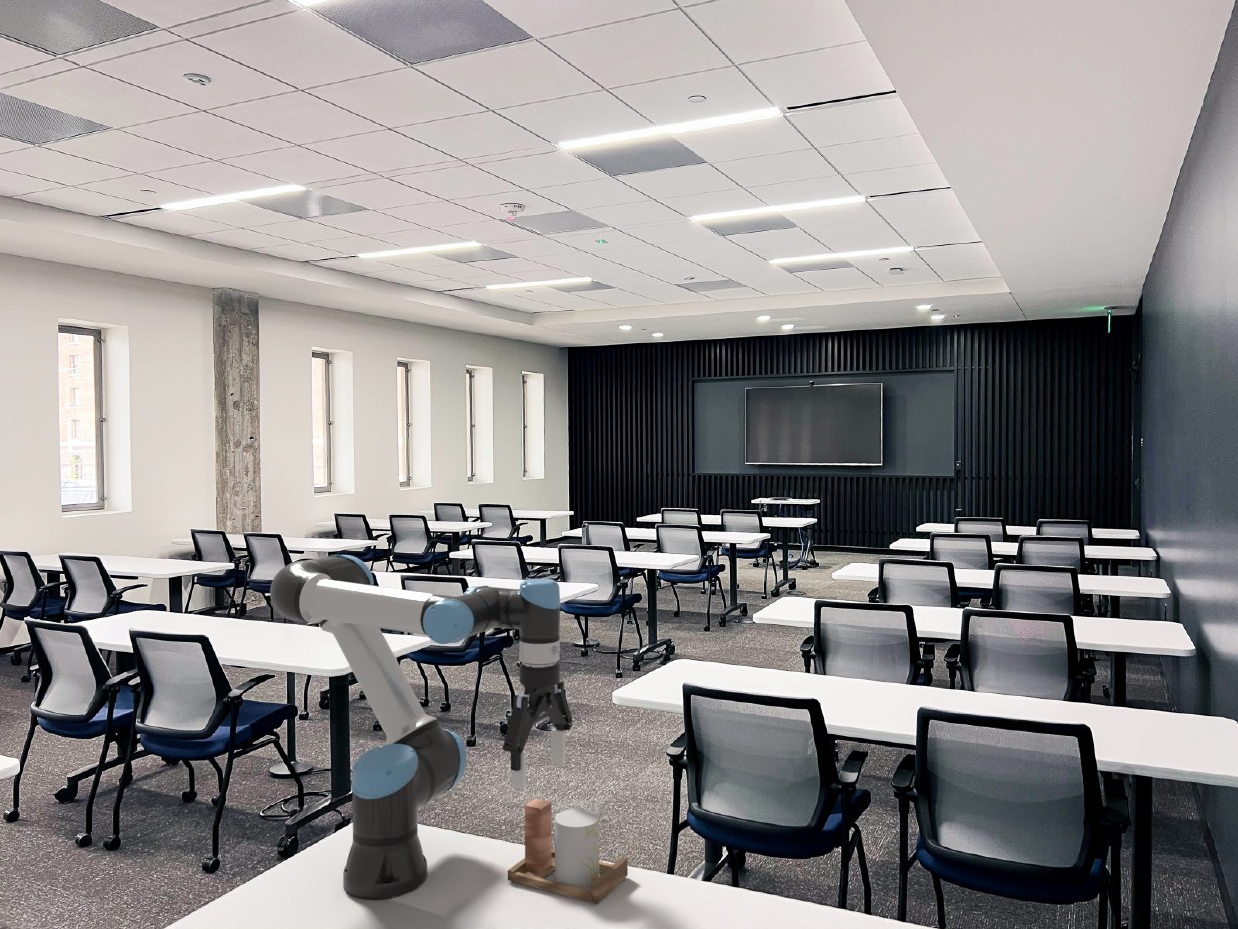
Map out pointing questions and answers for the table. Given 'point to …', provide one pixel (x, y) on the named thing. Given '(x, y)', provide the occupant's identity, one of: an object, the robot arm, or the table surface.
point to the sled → (543, 860)
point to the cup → (577, 848)
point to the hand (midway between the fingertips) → (538, 775)
